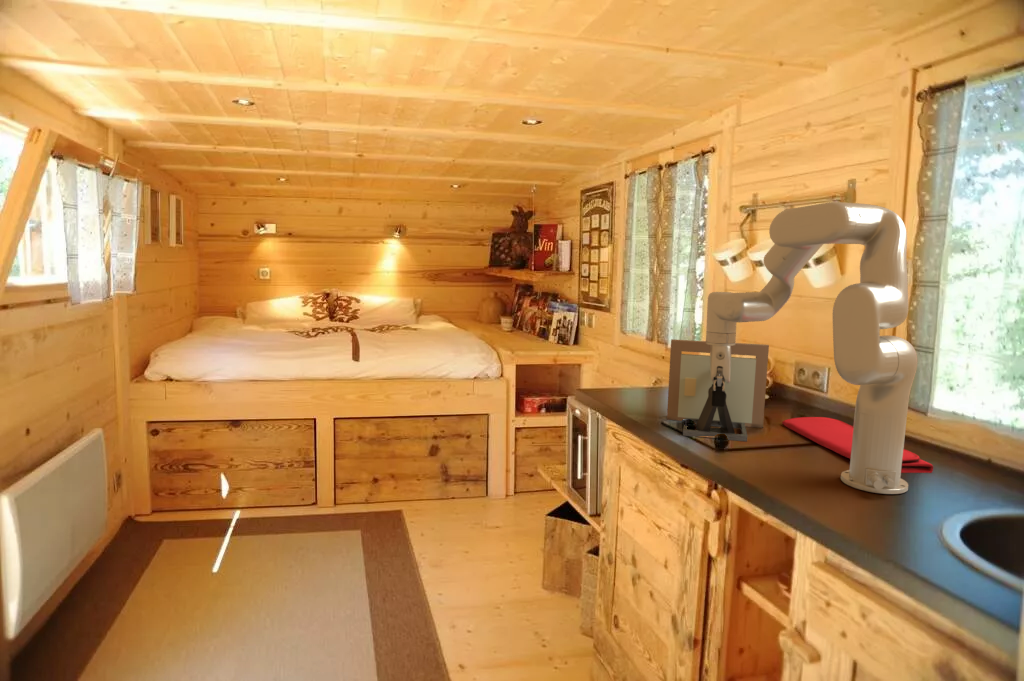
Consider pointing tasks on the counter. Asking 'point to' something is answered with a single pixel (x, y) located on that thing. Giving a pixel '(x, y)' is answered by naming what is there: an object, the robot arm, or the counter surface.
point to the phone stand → (708, 416)
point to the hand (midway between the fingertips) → (717, 402)
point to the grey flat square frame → (717, 423)
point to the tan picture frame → (695, 380)
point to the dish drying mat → (845, 440)
